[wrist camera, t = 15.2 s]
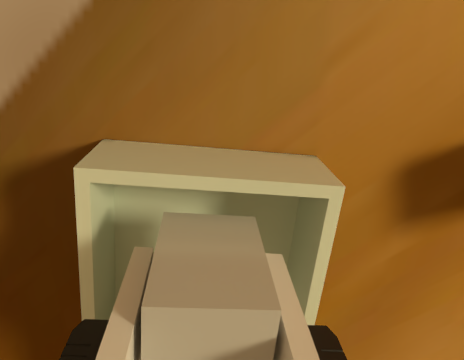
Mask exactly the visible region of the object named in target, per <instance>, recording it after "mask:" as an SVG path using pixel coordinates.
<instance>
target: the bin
mask: <svg viewBox="0 0 464 360" xmlns="http://www.w3.org/2000/svg"><path fill="white" fill-rule="evenodd" d="M73 169H74V187H75V206H76V224H77V242H78V261H79V279H80V298H81V316H82V321H83V320H84V319H99V320H109V319H110V316H111V313H112V310H113V307H114V304H115V302H116V299H117V296H118V293H119V290H120V287H121V284H122V281H123V279H124V276H125V273H126V270H127V267H128V264H129V261H130V258H131V256H132V253H133V250H134V247H153V248H154V251H155V247H156V242H157V238H158V234H159V230H160V226H161V221H162V217H163V213H164V212H174V213H193V214H213V215H232V216H252V217H255V218H256V222H257V225H258V229H259V233H260V236H261V240H262V243H263V247H264V250H265V253H270V254H282V256H283V258H284V261H285V264H286V267H287V270H288V272H289V275H290V278H291V281H292V283H293V286H294V289H295V292H296V295H297V297H298V300H299V303H300V306H301V309H302V311H303V314H304V317H305V320H306V323H307V325H315V320H316V316H317V312H318V307H319V303H320V298H321V294H322V289H323V285H324V280H325V276H326V271H327V267H328V262H329V258H330V254H331V249H332V245H333V240H334V236H335V231H336V227H337V222H338V218H339V213H340V209H341V205H342V200H343V196H344V191H345V186H344V185H343V184H342V183H341V182H340V180H339V179H338V178H337V177H336V176H335V175H334V174H333V173H332V172H331V171H330V170H329V169H328V168H327V167H326V166H325V165H324V164H323V163H322V162H321V161H320V160H319V159H318V158H317V157H316V156H311V155H299V154H286V153H273V152H260V151H248V150H235V149H222V148H209V147H197V146H184V145H171V144H158V143H146V142H133V141H120V140H108V139H103V140H102V141H101V142H100V143H99V144H98V145H97V146H96V147H94V148H93V149H92V150H91V151H90V152H89V153H88V154H87V155H86V156H85V157H84V158H83V159H82V160H81V161H80V162H79V163H78V164H77V165H76V166H75V167H73ZM153 255H154V252H153ZM140 360H141V358H140Z"/></svg>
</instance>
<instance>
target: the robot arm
mask: <svg viewBox="0 0 464 360" xmlns="http://www.w3.org/2000/svg"><path fill="white" fill-rule="evenodd" d="M153 252H154V248H153V247H134V250H133V253H132V256H131V258H130V261H129V264H128V267H127V270H126V273H125V276H124V279H123V281H122V284H121V287H120V290H119V293H118V296H117V299H116V302H115V304H114V307H113V310H112V313H111V316H110V319H109V320H99V319H84V320H83V321H82V322H81V323H80V324H79V325H78V326H77V327H76V328H75V329H74V330H73V331H72V333H71V335H70V337H69V339H68V341H67V343H66V347H65V348H64V350H63V352H62V354H61V358H60V359H59V360H140V358H141V306H142V302H143V297H144V293H145V289H146V285H147V280H148V276H149V272H150V268H151V264H152V259H153ZM265 254H266V257H267V261H268V264H269V268H270V271H271V275H272V278H273V282H274V286H275V289H276V293H277V296H278V300H279V303H280V307H281V310H282V311H281V317H280V322H279V328H278V334H277V340H276V346H275V351H274V357H273V360H347V359H346V356H345V354H344V352H343V350H342V347H341V345H340V343H339V341H338V338H337V337H336V336H335V334H334V333H333V332H332V331H331V330H330V329H329V328H328V327H327V326H319V325H307V323H306V320H305V317H304V314H303V311H302V309H301V306H300V303H299V300H298V297H297V295H296V292H295V289H294V286H293V283H292V281H291V278H290V275H289V272H288V270H287V267H286V264H285V261H284V258H283V256H282V254H270V253H265Z"/></svg>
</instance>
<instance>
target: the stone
mask: <svg viewBox="0 0 464 360" xmlns="http://www.w3.org/2000/svg"><path fill="white" fill-rule="evenodd" d="M281 311H282V310H281V307H280V303H279V300H278V296H277V293H276V289H275V286H274V282H273V278H272V275H271V271H270V268H269V264H268V261H267V257H266V254H265V250H264V247H263V243H262V240H261V236H260V233H259V229H258V225H257V222H256V218H255V217H252V216H232V215H213V214H193V213H174V212H164V213H163V217H162V221H161V226H160V230H159V234H158V238H157V242H156V247H155V251H154V255H153V259H152V264H151V268H150V272H149V276H148V280H147V285H146V289H145V293H144V297H143V302H142V306H141V360H273V357H274V351H275V346H276V340H277V334H278V328H279V322H280V317H281Z"/></svg>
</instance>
